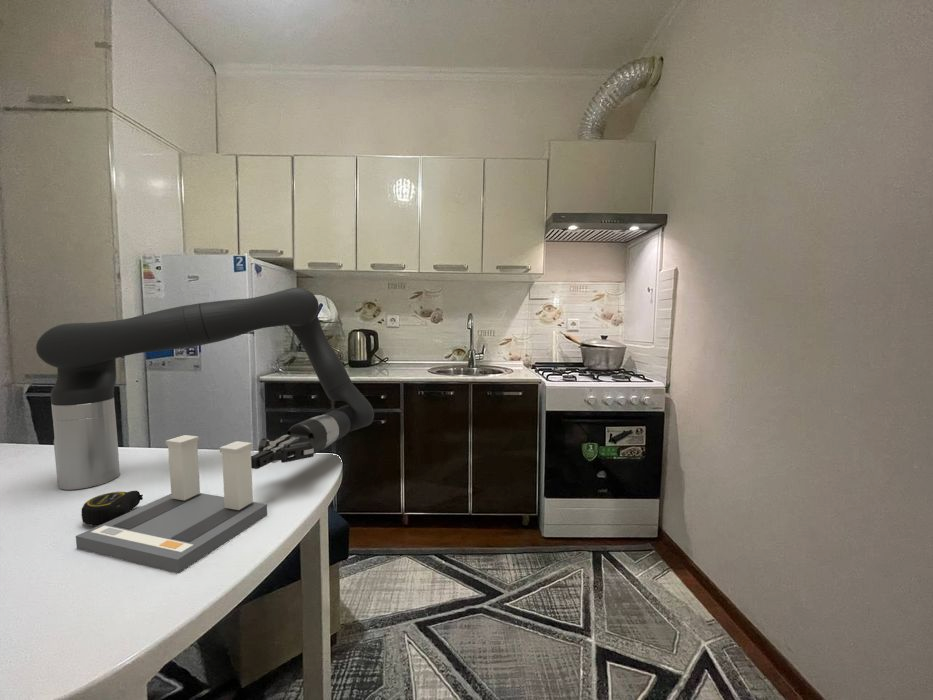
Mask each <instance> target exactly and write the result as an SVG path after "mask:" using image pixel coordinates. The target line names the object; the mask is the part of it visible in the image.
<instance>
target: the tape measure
mask: <svg viewBox="0 0 933 700" xmlns="http://www.w3.org/2000/svg"><path fill="white" fill-rule="evenodd" d="M143 496H144V495H143V494H141V493H140V491H139V490H130V491H112V492H107V493H102V494H100V495H97V496H95V497H92V498H90V499H89V500H87V501H85V503H83V505H82V507H81V511H80V512H81V514H80V516H81V520H82V522H83V523H84V524H85V525H87V526H99V525H102V524H104V523H106V522H108V521H111V520H113V519H115V518H117V517H120V516H122V515H124V514H126V513H129V512H131V511H133V510H135V508H136V507H137V506H138V505H139V504H140V502H141V500H144V499H143V498H144V497H143Z"/></svg>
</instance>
